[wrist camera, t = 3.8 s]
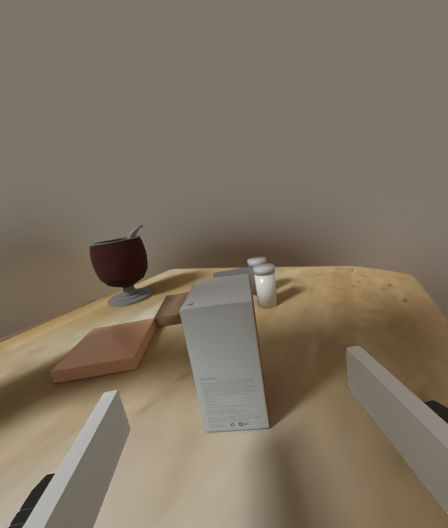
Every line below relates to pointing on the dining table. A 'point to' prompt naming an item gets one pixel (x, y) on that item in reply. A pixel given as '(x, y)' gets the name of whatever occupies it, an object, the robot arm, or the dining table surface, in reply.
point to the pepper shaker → (251, 264)
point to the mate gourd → (122, 267)
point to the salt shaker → (265, 285)
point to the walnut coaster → (170, 310)
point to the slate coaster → (232, 272)
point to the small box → (225, 353)
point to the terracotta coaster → (106, 351)
